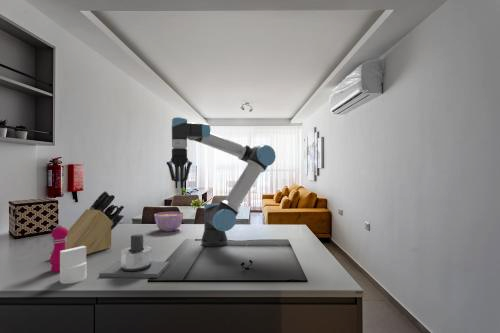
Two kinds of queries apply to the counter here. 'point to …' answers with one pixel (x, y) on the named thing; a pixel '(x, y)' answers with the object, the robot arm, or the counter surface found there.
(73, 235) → the knife block
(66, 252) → the cylinder with rectangular tab
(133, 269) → the light gray faceted ring
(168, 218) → the bowl of food
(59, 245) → the pepper mill
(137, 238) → the dark grey tall cylinder
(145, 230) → the counter surface
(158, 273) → the grey rectangular board
